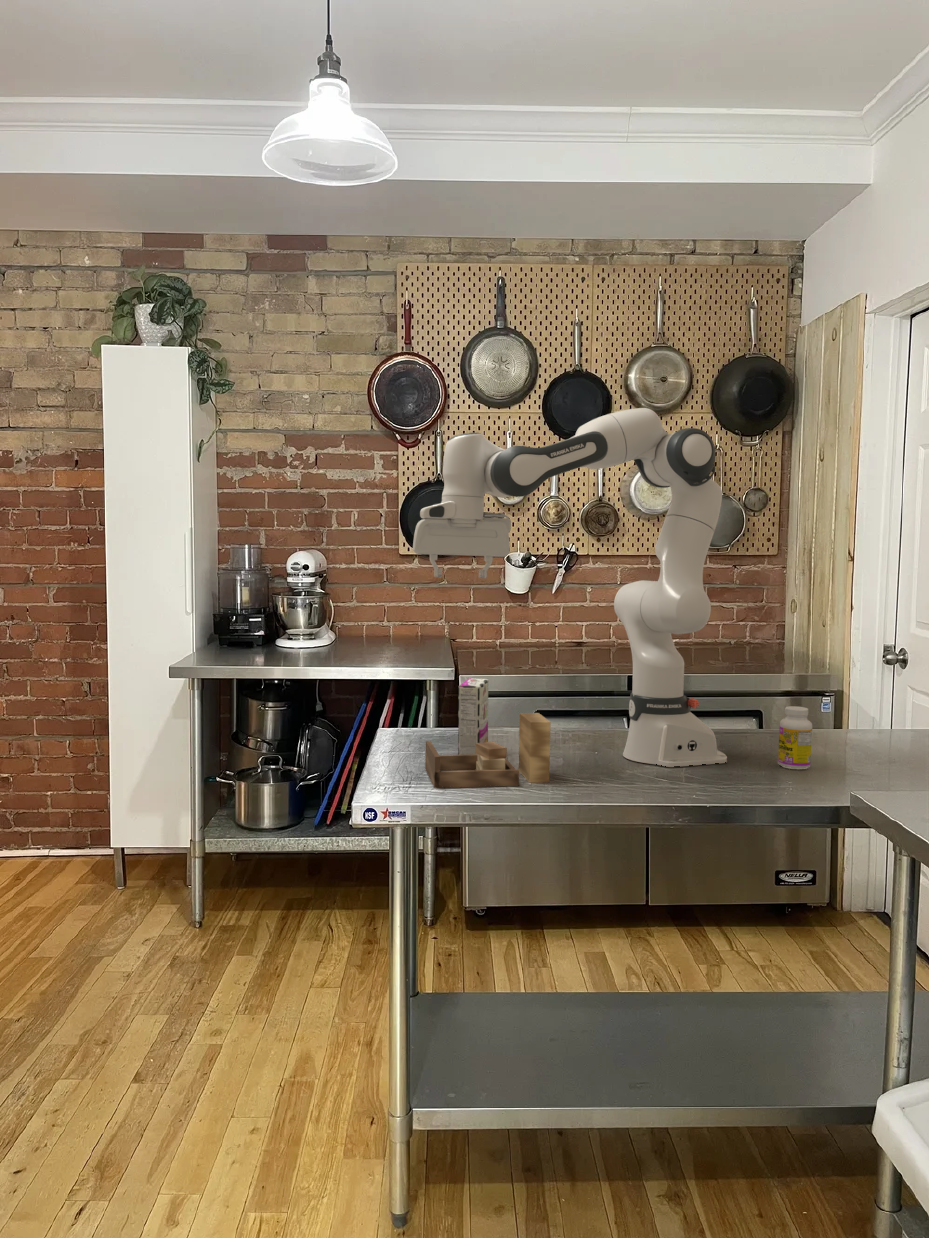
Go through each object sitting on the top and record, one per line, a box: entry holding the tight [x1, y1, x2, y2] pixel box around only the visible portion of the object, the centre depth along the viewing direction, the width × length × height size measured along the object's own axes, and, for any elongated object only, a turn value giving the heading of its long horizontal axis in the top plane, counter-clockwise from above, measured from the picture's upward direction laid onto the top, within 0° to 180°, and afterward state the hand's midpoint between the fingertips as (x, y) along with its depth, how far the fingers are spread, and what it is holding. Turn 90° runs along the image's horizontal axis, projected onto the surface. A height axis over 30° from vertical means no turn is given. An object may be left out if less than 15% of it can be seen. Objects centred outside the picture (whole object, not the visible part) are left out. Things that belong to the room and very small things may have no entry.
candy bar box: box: [457, 677, 489, 755], centre depth 209 cm, size 11×5×16 cm, turn 168°
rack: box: [424, 740, 520, 788], centre depth 190 cm, size 16×14×6 cm
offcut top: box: [475, 741, 508, 759], centre depth 191 cm, size 4×6×2 cm, turn 25°
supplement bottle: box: [777, 705, 813, 768], centre depth 203 cm, size 7×7×13 cm
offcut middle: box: [477, 754, 505, 770], centre depth 191 cm, size 4×8×2 cm, turn 6°
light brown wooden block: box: [517, 712, 552, 784], centre depth 192 cm, size 4×10×12 cm, turn 9°
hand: (460, 577), depth 199 cm, fingers open, 8 cm apart
